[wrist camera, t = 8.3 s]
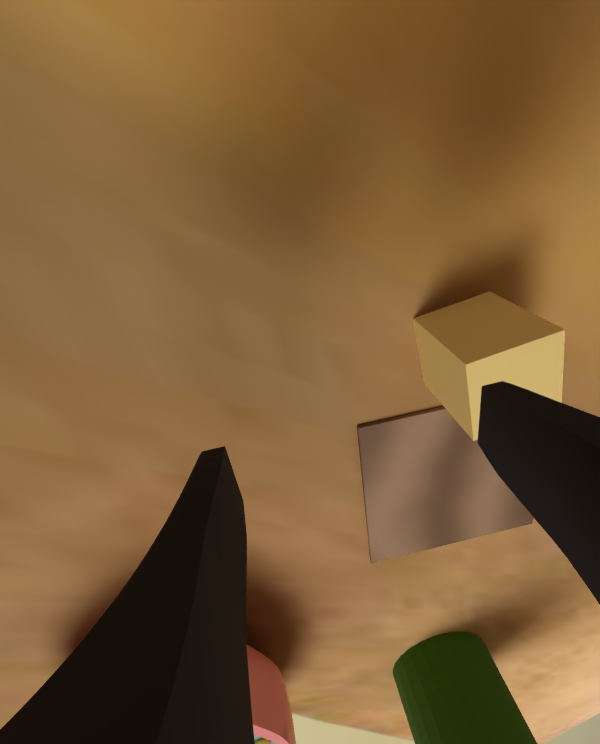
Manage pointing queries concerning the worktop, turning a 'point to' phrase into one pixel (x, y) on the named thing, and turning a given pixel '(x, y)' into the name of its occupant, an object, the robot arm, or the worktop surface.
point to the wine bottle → (457, 694)
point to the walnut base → (429, 485)
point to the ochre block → (487, 353)
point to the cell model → (269, 701)
